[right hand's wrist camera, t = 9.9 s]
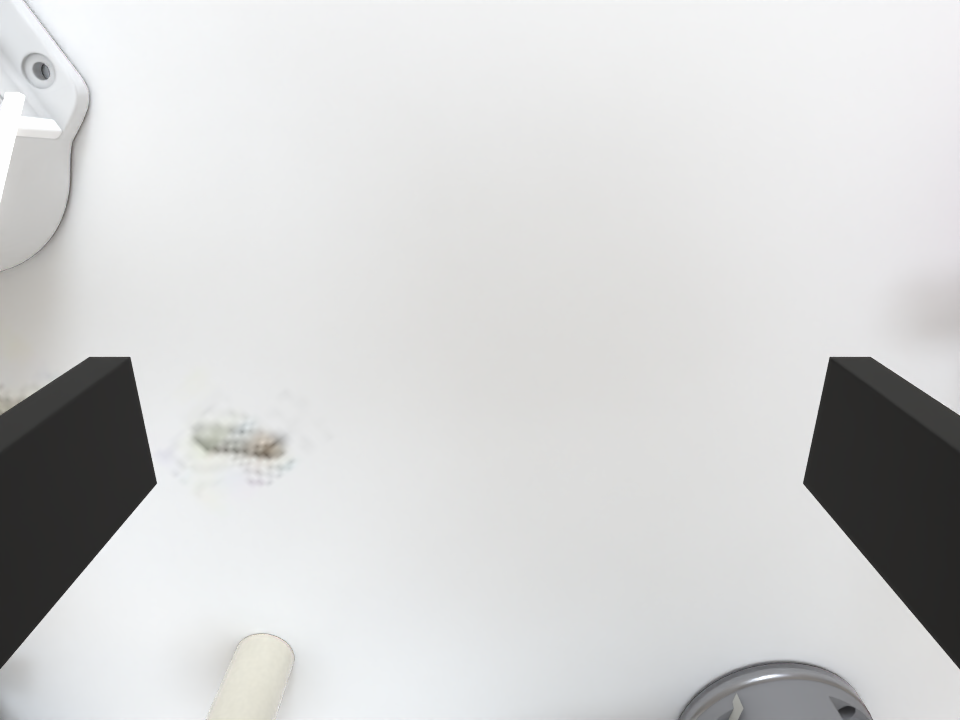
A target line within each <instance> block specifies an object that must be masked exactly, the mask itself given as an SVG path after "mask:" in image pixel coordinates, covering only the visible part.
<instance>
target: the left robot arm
mask: <svg viewBox="0 0 960 720" xmlns="http://www.w3.org/2000/svg"><path fill="white" fill-rule="evenodd" d="M43 64H45V65H46V66H47V67H48V68H49V71H50V76H49V78H48V79H46V78H45V77H44V76H43V75H42V72H41V67H42V65H43ZM88 105H89V91H88V88H87V85H86V83H85V81H84V80H83V78H82V77H81V75H80V74H79V73H78V71H77V70H76V69H75V67H74V66H73V65H72V64H71V62H70V61H69V60H68V58H67V57H66V56H65V54H64V53H63V52H62V50H61V49H60V48H59V46H58V45H57V44H56V42H55V41H54V40H53V39H52V37H51V36H50V35H49V33H48V32H47V31H46V29H45V28H44V27H43V25H42V24H41V23H40V21H39V20H38V19H37V17H36V16H35V15H34V14H33V12H32V11H31V10H30V8H29V7H28V6H27V4H26V3H25V2H24V0H0V271H3V270H6V269H9V268H12V267H14V266H17V265H19V264H21V263H23V262H24V261H26V260H28V259H29V258H31V257H32V256H34V255H35V254H36V253H37V252H38V251H40V250H41V249H42V248H43V247H44V246H45V244H46V243H47V242H48V241H49V240H50V238H51V237H52V236H53V234H54V233H55V231H56V229H57V227H58V226H59V224H60V221H61V219H62V217H63V214H64V211H65V208H66V204H67V200H68V195H69V188H70V156H71V147H72V142H73V140H74V138H75V136H76V134H77V132H78V130H79V128H80V126H81V124H82V122H83V120H84V117H85V115H86V112H87V109H88Z"/></svg>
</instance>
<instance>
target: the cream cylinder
mask: <svg viewBox="0 0 960 720" xmlns="http://www.w3.org/2000/svg"><path fill="white" fill-rule="evenodd" d="M293 664H294V654H293V651H292V649H291V647H290V646H289V645H288V644H287V643H286V642H285V641H283V640H282V639H280V638H278V637H276V636H273V635H269V634H255V635H251V636H248V637H246V638H245V639H243V640H242V641H241V642H240V643H239V645H238V646H237V648H236V651H235V653H234V655H233V658H232V660H231V662H230V664H229V667H228V669H227V671H226V673H225V676H224V678H223V680H222V683H221V685H220V687H219V689H218V692H217V694H216V696H215V699H214V701H213V703H212V705H211V708H210V710H209V712H208V715H207V717H206V719H205V720H275V719H276V716H277V713H278V709H279V706H280V703H281V700H282V697H283V694H284V691H285V688H286V685H287V682H288V679H289V676H290V673H291V670H292V667H293Z"/></svg>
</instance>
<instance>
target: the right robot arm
mask: <svg viewBox="0 0 960 720" xmlns="http://www.w3.org/2000/svg"><path fill="white" fill-rule="evenodd" d="M156 484H157V481H156V477H155V472H154V467H153V462H152V458H151V453H150V448H149V443H148V439H147V434H146V429H145V425H144V420H143V415H142V410H141V406H140V401H139V396H138V391H137V387H136V382H135V377H134V372H133V368H132V363H131V358H130V357H89V358H87V359H86V360H84V361H83V362H81V363H80V364H78V365H77V366H75V367H74V368H72V369H70V370H69V371H67V372H66V373H64V374H63V375H61V376H60V377H58V378H57V379H55V380H54V381H52V382H51V383H49V384H48V385H46V386H45V387H43V388H42V389H40V390H38V391H37V392H35V393H34V394H32V395H31V396H29V397H28V398H26V399H25V400H23V401H22V402H20V403H19V404H17V405H16V406H14V407H13V408H11V409H10V410H8V411H6V412H5V413H3V414H2V415H0V669H1V668H2V666H3V665H4V664H5V663H6V662H7V661H8V659H9V658H10V657H11V656H12V655H13V653H14V652H15V651H16V650H17V649H18V647H19V646H20V645H21V644H22V643H23V642H24V640H25V639H26V638H27V637H28V636H29V634H30V633H31V632H32V631H33V630H34V629H35V627H36V626H37V625H38V624H39V623H40V621H41V620H42V619H43V618H44V617H45V615H46V614H47V613H48V612H49V611H50V610H51V608H52V607H53V606H54V605H55V604H56V602H57V601H58V600H59V599H60V598H61V597H62V595H63V594H64V593H65V592H66V591H67V589H68V588H69V587H70V586H71V585H72V584H73V582H74V581H75V580H76V579H77V578H78V576H79V575H80V574H81V573H82V572H83V570H84V569H85V568H86V567H87V566H88V565H89V563H90V562H91V561H92V560H93V559H94V557H95V556H96V555H97V554H98V553H99V552H100V550H101V549H102V548H103V547H104V546H105V544H106V543H107V542H108V541H109V540H110V538H111V537H112V536H113V535H114V534H115V533H116V531H117V530H118V529H119V528H120V527H121V525H122V524H123V523H124V522H125V521H126V520H127V518H128V517H129V516H130V515H131V514H132V512H133V511H134V510H135V509H136V508H137V506H138V505H139V504H140V503H141V502H142V501H143V499H144V498H145V497H146V496H147V495H148V493H149V492H150V491H151V490H152V489H153V488H154V486H155V485H156ZM803 484H804V485H805V486H806V488H807V489H808V490H809V491H810V492H811V493H812V495H813V496H814V497H815V498H816V499H817V501H818V502H819V503H820V504H821V505H822V506H823V508H824V509H825V510H826V511H827V512H828V514H829V515H830V516H831V517H832V518H833V520H834V521H835V522H836V523H837V524H838V525H839V527H840V528H841V529H842V530H843V531H844V533H845V534H846V535H847V536H848V537H849V538H850V540H851V541H852V542H853V543H854V544H855V546H856V547H857V548H858V549H859V550H860V552H861V553H862V554H863V555H864V556H865V557H866V559H867V560H868V561H869V562H870V563H871V565H872V566H873V567H874V568H875V569H876V570H877V572H878V573H879V574H880V575H881V576H882V578H883V579H884V580H885V581H886V582H887V584H888V585H889V586H890V587H891V588H892V589H893V591H894V592H895V593H896V594H897V595H898V597H899V598H900V599H901V600H902V601H903V602H904V604H905V605H906V606H907V607H908V608H909V610H910V611H911V612H912V613H913V614H914V615H915V617H916V618H917V619H918V620H919V621H920V623H921V624H922V625H923V626H924V627H925V629H926V630H927V631H928V632H929V633H930V634H931V636H932V637H933V638H934V639H935V640H936V642H937V643H938V644H939V645H940V646H941V647H942V649H943V650H944V651H945V652H946V653H947V655H948V656H949V657H950V658H951V659H952V661H953V662H954V663H955V664H956V665H957V666H958V668H959V669H960V415H958V414H957V413H955V412H954V411H952V410H950V409H949V408H947V407H946V406H944V405H943V404H941V403H940V402H938V401H937V400H935V399H934V398H932V397H931V396H929V395H928V394H926V393H925V392H923V391H922V390H920V389H918V388H917V387H915V386H914V385H912V384H911V383H909V382H908V381H906V380H905V379H903V378H902V377H900V376H899V375H897V374H896V373H894V372H893V371H891V370H890V369H888V368H886V367H885V366H883V365H882V364H880V363H879V362H877V361H876V360H874V359H873V358H871V357H830V358H829V363H828V368H827V372H826V377H825V382H824V387H823V391H822V396H821V401H820V406H819V410H818V415H817V420H816V424H815V429H814V434H813V439H812V443H811V448H810V453H809V458H808V462H807V467H806V472H805V477H804V481H803ZM679 720H873V719H872V717H871V715H870V713H869V711H868V710H867V708H866V707H865V705H864V703H863V702H862V700H861V699H860V697H859V696H858V694H857V692H856V691H855V690H854V689H853V688H852V686H850V685H849V684H848V683H847V682H846V681H845V680H843V679H842V678H840V677H839V676H837V675H835V674H833V673H831V672H829V671H827V670H824V669H821V668H818V667H814V666H810V665H804V664H796V663H775V664H766V665H759V666H755V667H751V668H747V669H744V670H740V671H738V672H735V673H732V674H730V675H728V676H726V677H724V678H721V679H720V680H718V681H716V682H714V683H713V684H711V685H710V686H708V687H707V688H705V689H704V690H703V691H702V692H700V693H699V694H698V695H697V696H696V697H695V698H694V699H693V700H692V701H691V702H690V703H689V704H688V706H687V707H686V708H685V710H684V711H683V713H682V714H681V716H680V718H679Z"/></svg>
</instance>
